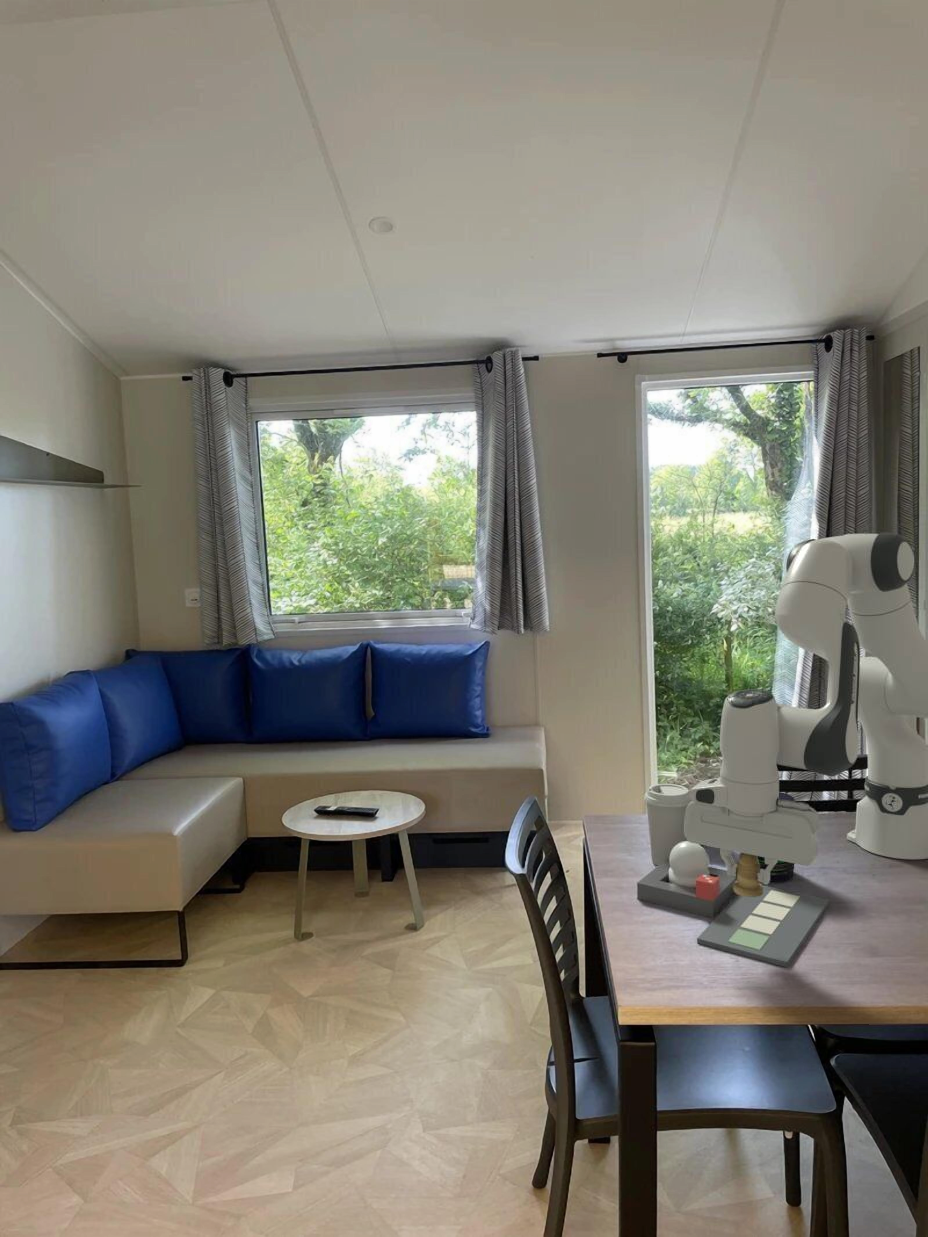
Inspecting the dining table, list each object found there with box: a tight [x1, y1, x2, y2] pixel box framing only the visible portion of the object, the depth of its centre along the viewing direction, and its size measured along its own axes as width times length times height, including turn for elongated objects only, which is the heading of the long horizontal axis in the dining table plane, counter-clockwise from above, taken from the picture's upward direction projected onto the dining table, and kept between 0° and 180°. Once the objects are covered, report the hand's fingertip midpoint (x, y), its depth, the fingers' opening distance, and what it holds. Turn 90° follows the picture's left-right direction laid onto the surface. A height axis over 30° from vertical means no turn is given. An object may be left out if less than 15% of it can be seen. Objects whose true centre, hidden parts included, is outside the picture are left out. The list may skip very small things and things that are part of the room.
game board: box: [696, 884, 830, 968], centre depth 141 cm, size 26×14×1 cm, turn 144°
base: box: [636, 858, 737, 918], centre depth 153 cm, size 14×14×6 cm
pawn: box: [734, 853, 764, 897], centre depth 132 cm, size 4×4×7 cm
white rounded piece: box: [669, 841, 710, 889], centre depth 152 cm, size 7×7×8 cm
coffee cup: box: [643, 783, 692, 867], centre depth 167 cm, size 10×10×15 cm
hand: (748, 879), depth 133 cm, fingers closed on pawn, 3 cm apart
